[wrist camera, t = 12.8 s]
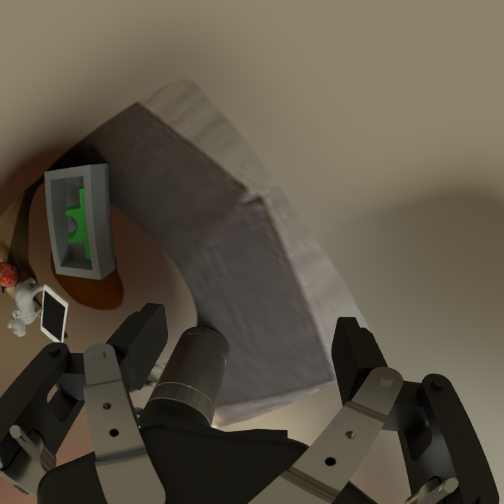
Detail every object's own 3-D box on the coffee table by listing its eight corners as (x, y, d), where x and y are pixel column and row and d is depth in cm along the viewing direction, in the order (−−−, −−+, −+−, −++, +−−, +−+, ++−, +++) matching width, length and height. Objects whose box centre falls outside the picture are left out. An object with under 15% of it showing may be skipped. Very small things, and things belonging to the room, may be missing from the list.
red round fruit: (10, 256, 49) (3, 294, 45) (-8, 246, 42) (-16, 287, 38) (26, 258, 49) (19, 298, 46) (8, 247, 42) (0, 291, 39)
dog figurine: (32, 313, 50) (6, 334, 40) (30, 271, 46) (-1, 290, 36) (45, 323, 51) (20, 346, 41) (44, 282, 47) (13, 303, 37)
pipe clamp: (65, 189, 36) (63, 191, 33) (85, 186, 38) (86, 187, 35) (72, 254, 40) (72, 262, 36) (91, 250, 42) (93, 258, 38)
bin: (116, 268, 43) (101, 279, 39) (72, 263, 44) (56, 273, 40) (108, 163, 38) (90, 164, 33) (62, 169, 39) (44, 172, 34)
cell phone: (42, 329, 52) (40, 330, 51) (45, 282, 47) (44, 283, 47) (63, 347, 53) (61, 348, 52) (69, 302, 48) (67, 303, 47)
